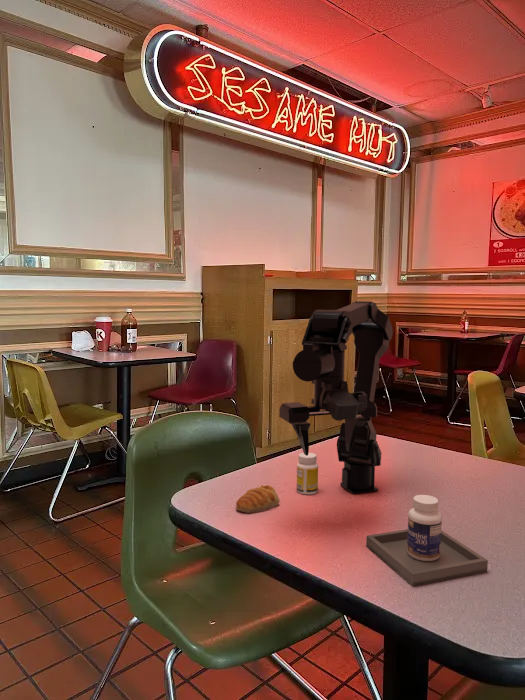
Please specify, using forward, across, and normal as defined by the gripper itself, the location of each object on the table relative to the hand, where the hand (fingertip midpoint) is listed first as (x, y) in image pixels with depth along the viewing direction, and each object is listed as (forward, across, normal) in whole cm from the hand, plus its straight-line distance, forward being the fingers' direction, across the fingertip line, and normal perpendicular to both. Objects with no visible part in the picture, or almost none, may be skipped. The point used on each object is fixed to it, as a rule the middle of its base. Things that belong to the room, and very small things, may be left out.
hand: (327, 453), depth 108 cm
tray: (+13, +8, -21) cm, 26 cm away
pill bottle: (+13, +8, -21) cm, 26 cm away
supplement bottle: (+13, +2, +14) cm, 19 cm away
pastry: (+14, -11, +10) cm, 20 cm away
